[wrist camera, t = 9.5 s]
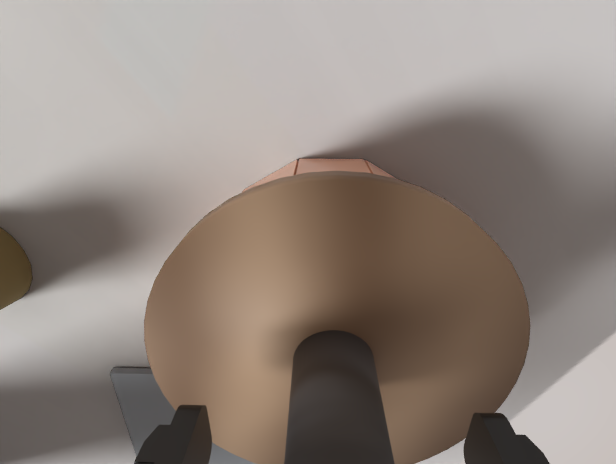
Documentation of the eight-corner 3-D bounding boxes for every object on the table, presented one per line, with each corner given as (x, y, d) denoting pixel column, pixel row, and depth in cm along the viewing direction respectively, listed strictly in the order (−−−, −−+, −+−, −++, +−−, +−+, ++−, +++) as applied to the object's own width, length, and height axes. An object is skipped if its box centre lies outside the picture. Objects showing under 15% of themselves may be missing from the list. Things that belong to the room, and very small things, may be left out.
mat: (157, 506, 29) (154, 512, 29) (113, 367, 23) (109, 373, 22) (344, 511, 29) (344, 518, 29) (355, 372, 22) (356, 378, 22)
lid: (185, 451, 17) (137, 591, 12) (117, 170, 11) (-24, 238, 6) (475, 457, 16) (535, 603, 12) (563, 170, 11) (748, 242, 6)
